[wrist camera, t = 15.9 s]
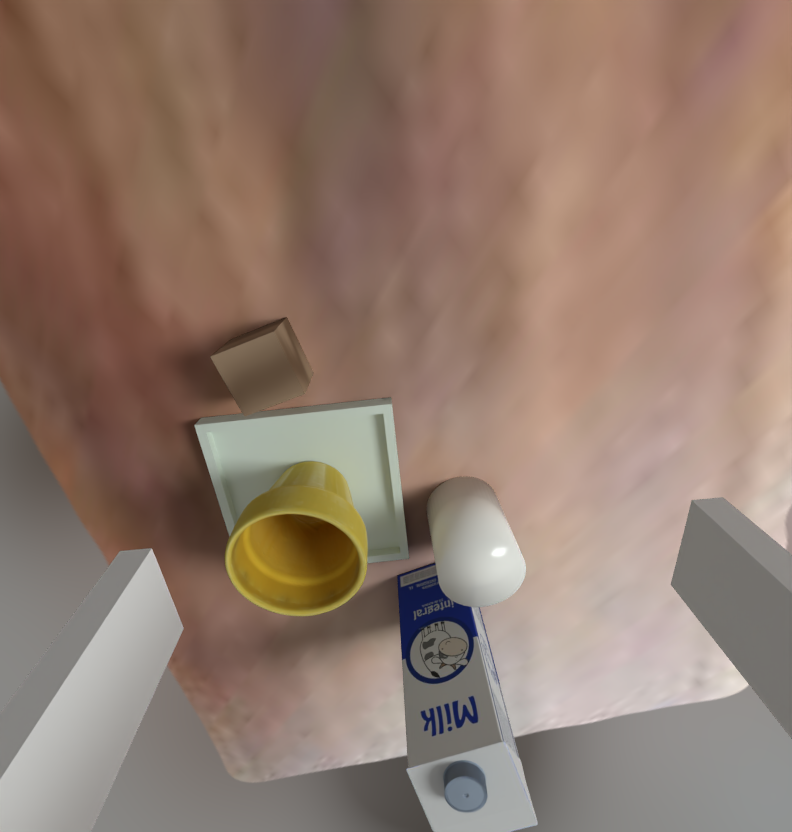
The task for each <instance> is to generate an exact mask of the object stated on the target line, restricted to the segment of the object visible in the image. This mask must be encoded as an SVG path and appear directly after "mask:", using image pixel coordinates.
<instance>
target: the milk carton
mask: <svg viewBox="0 0 792 832" xmlns="http://www.w3.org/2000/svg"><path fill="white" fill-rule="evenodd" d="M397 579H398V597H399V614H400V632H401V650H402V667H403V685H404V702H405V720H406V737H407V755H408V769H406V770H407V773H408V775H409V777H410V780H411V782H412V784H413V786H414V789H415V791H416V793H417V796H418V798H419V800H420V803H421V804H422V807H423V809H424V812H425V814H426V816H427V819H428V821H429V823H430V825H431V828H432V830H433V831H435V832H511V831H515V830H519V829H523V828H526V827H531V826H535V825H537V824H538V822H537V819H536V816H535V812H534V809H533V805H532V802H531V798H530V795H529V791H528V788H527V784H526V781H525V777H524V772H523V768H522V764H521V760H520V759H519V755H518V751H517V748H516V744H515V740H514V736H513V733H512V729H511V725H510V721H509V717H508V714H507V710H506V706H505V702H504V698H503V695H502V691H501V687H500V683H499V679H498V676H497V672H496V668H495V664H494V660H493V657H492V653H491V649H490V645H489V642H488V638H487V634H486V630H485V626H484V623H483V619H482V615H481V611H480V607H469V606H464V605H461V604H458V603H456V602H454V601H452V600H451V599H449V598H448V597H447V596H446V595H445V594H444V593H443V591H442V590H441V588H440V585H439V581H438V575H437V569H436V563H434V564H431V565H428V566H425V567H422V568H419V569H416V570H413V571H410V572H407V573H404V574H401V575H397Z"/></svg>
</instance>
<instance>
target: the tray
mask: <svg viewBox="0 0 792 832" xmlns="http://www.w3.org/2000/svg"><path fill="white" fill-rule="evenodd" d="M194 426H195V429H196V432H197V435H198V438H199V442H200V445H201V448H202V451H203V454H204V457H205V461H206V464H207V467H208V470H209V473H210V477H211V480H212V483H213V486H214V489H215V492H216V496H217V499H218V502H219V505H220V508H221V511H222V515H223V518H224V521H225V524H226V527H227V531H228V534H229V537H230V535H231V533H232V531H233V528H234V526H235V525H236V523H237V521H238V519H239V517H240V515H241V514H242V512H243V510H244V509H245V508H246V506H247V505H248V504H249V503H250V502H251V501H252V500H253V499H255V498H256V497H257V496H259V495H261V494H263V493H264V492H267V491H269V489H270V488H271V487H272V486H273V485H274V484H275V482H276V481H277V480H278V479H279V478H280V477H281V475H282V474H283V473H284V472H285V471H286V470H287V469H288V468H290V467H291V466H293V465H296V464H298V463H301V462H307V461H316V462H322V463H325V464H328V465H330V466H332V467H334V468H335V469H337V470H338V471H339V472H340V473H341V474H342V475H343V476H344V478H345V479H346V481H347V483H348V486H349V490H350V493H351V497H352V501H353V505H354V508H355V509H356V510H357V512H358V513H359V515H360V516H361V518H362V520H363V522H364V525H365V528H366V532H367V543H368V555H367V563H374V562H383V561H393V560H402V559H409V552H408V542H407V534H406V525H405V516H404V507H403V498H402V489H401V480H400V471H399V463H398V454H397V445H396V436H395V427H394V418H393V409H392V400H391V397H390V398H381V399H371V400H362V401H353V402H344V403H334V404H325V405H316V406H307V407H297V408H288V409H279V410H270V411H260V412H256V413H253V414H250V415H248V416H245V417H244V415H243V413H242V414H233V415H223V416H214V417H205V418H200V419H199V421H198V422H197V423H196V424H195V425H194Z"/></svg>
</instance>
